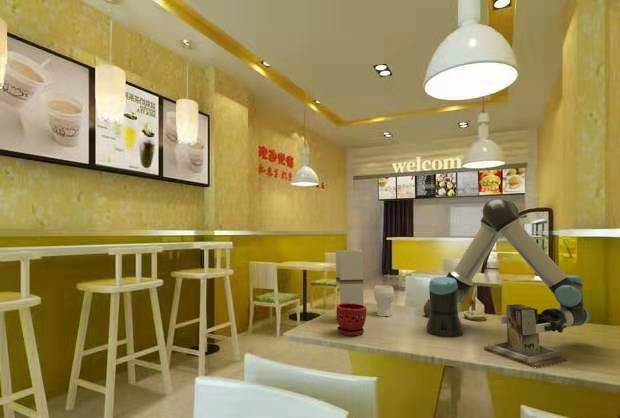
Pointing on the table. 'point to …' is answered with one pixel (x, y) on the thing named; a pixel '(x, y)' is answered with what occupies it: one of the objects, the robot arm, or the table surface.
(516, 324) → the coffee box
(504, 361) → the table surface
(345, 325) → the plant pot
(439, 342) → the table surface
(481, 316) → the decorated donut
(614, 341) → the table surface
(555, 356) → the brown flat tray
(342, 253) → the white banded column
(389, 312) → the cup
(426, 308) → the vase
